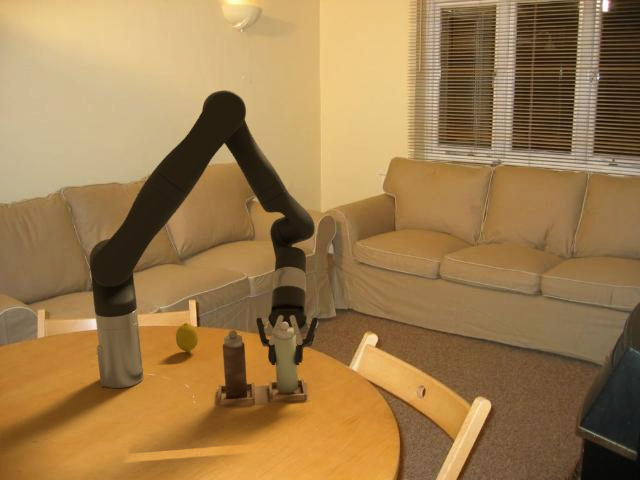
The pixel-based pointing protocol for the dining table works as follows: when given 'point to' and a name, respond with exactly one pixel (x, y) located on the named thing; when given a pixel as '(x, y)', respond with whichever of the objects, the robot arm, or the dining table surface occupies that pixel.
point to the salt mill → (285, 359)
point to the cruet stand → (262, 395)
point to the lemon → (187, 337)
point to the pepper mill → (234, 366)
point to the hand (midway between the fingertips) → (285, 363)
